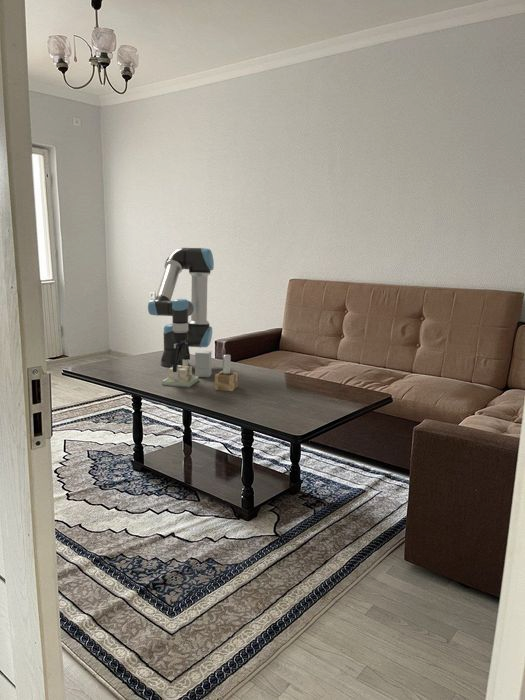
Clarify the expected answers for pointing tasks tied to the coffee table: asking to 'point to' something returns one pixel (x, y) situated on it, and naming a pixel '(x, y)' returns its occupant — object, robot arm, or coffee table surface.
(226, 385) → the oak block
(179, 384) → the tray
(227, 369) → the rod
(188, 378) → the birch block
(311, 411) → the coffee table surface
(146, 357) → the coffee table surface
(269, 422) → the coffee table surface
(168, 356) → the robot arm
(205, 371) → the supplement box
